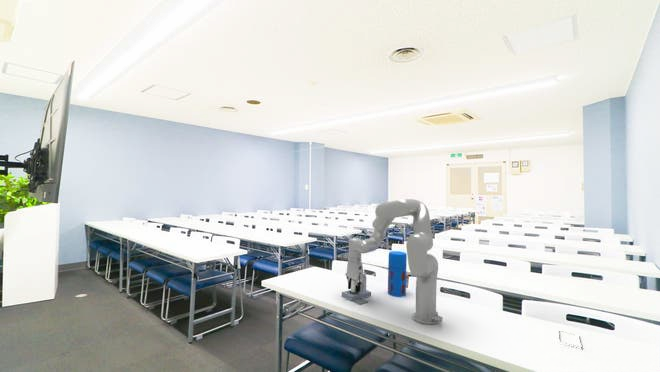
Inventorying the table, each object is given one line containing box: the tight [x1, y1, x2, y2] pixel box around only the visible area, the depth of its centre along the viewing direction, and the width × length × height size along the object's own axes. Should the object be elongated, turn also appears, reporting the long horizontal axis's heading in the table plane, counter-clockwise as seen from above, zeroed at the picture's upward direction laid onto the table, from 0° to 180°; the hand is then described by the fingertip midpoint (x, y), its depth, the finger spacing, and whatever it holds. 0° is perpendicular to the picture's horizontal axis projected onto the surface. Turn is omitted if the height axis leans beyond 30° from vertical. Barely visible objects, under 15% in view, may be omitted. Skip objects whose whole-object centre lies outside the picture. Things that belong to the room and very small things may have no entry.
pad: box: [352, 298, 369, 306], centre depth 163 cm, size 6×6×1 cm
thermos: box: [387, 250, 408, 298], centre depth 179 cm, size 11×11×25 cm
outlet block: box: [341, 275, 372, 302], centre depth 172 cm, size 9×15×11 cm, turn 126°
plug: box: [349, 279, 358, 295], centre depth 171 cm, size 5×5×10 cm
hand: (354, 289), depth 171 cm, fingers open, 5 cm apart
